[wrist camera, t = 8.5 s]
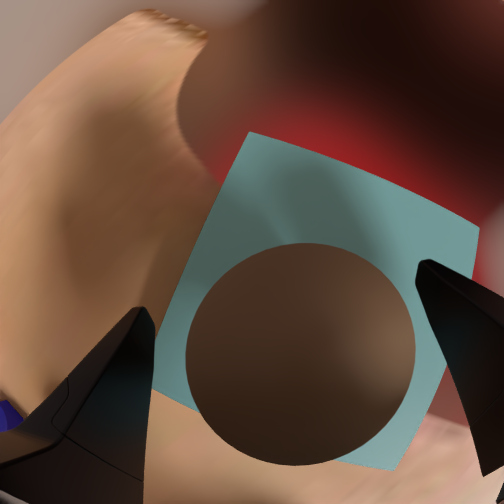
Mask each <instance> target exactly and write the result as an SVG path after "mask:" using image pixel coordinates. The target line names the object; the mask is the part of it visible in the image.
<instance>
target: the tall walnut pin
mask: <svg viewBox="0 0 504 504" xmlns="http://www.w3.org/2000/svg"><path fill="white" fill-rule="evenodd" d="M415 353H416V344H415V333H414V328H413V324H412V320H411V317H410V314H409V311H408V309H407V306H406V304H405V302H404V300H403V298H402V297H401V295H400V293H399V292H398V290H397V289H396V287H395V286H394V285H393V283H392V282H391V281H390V280H389V279H388V278H387V277H386V276H385V275H384V274H383V273H382V272H381V271H380V270H379V269H378V268H377V267H375V266H374V265H373V264H371V263H370V262H369V261H367V260H365V259H364V258H362V257H360V256H358V255H357V254H354V253H352V252H349V251H347V250H344V249H342V248H338V247H334V246H330V245H325V244H317V243H294V244H287V245H281V246H277V247H273V248H270V249H266V250H264V251H261V252H259V253H257V254H254V255H252V256H250V257H248V258H246V259H245V260H243V261H241V262H240V263H238V264H237V265H235V266H234V267H233V268H231V269H230V270H229V271H227V272H226V273H225V274H224V275H223V276H222V277H221V278H220V279H219V280H218V281H217V282H216V283H215V284H214V285H213V286H212V288H211V289H210V290H209V291H208V293H207V294H206V295H205V297H204V298H203V300H202V302H201V304H200V305H199V307H198V309H197V311H196V313H195V315H194V318H193V320H192V323H191V326H190V330H189V333H188V337H187V344H186V352H185V367H186V374H187V381H188V385H189V388H190V392H191V395H192V397H193V400H194V402H195V404H196V406H197V408H198V410H199V412H200V413H201V415H202V417H203V418H204V420H205V421H206V422H207V424H208V425H209V426H210V427H211V428H212V430H213V431H214V432H215V433H216V434H217V435H218V436H220V437H221V438H222V439H223V440H224V441H225V442H226V443H228V444H229V445H231V446H232V447H234V448H235V449H237V450H238V451H240V452H242V453H244V454H246V455H248V456H250V457H253V458H256V459H259V460H262V461H265V462H269V463H274V464H279V465H290V466H299V465H312V464H318V463H323V462H327V461H330V460H334V459H337V458H339V457H342V456H344V455H346V454H349V453H351V452H352V451H354V450H356V449H358V448H359V447H361V446H363V445H364V444H365V443H367V442H368V441H369V440H371V439H372V438H373V437H375V436H376V435H377V434H378V433H379V432H380V431H381V430H382V429H383V428H384V427H385V426H386V425H387V424H388V422H389V421H390V420H391V419H392V417H393V416H394V415H395V413H396V412H397V410H398V409H399V407H400V405H401V404H402V402H403V400H404V398H405V395H406V393H407V391H408V389H409V385H410V382H411V379H412V376H413V371H414V365H415Z"/></svg>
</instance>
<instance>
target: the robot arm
mask: <svg viewBox="0 0 504 504" xmlns="http://www.w3.org/2000/svg"><path fill="white" fill-rule="evenodd" d="M415 286H416V289H417V292H418V294H419V297H420V299H421V302H422V305H423V308H424V310H425V313H426V316H427V319H428V321H429V324H430V326H431V328H432V331H433V333H434V335H435V337H436V339H437V342H438V344H439V346H440V348H441V351H442V353H443V355H444V358H445V360H446V363H447V365H448V368H449V370H450V372H451V375H452V378H453V380H454V383H455V386H456V388H457V391H458V394H459V396H460V399H461V402H462V405H463V408H464V411H465V414H466V417H467V420H468V423H469V426H470V430H471V434H472V437H473V441H474V444H475V448H476V452H477V456H478V460H479V464H480V468H481V472H482V476H483V477H484V476H486V475H488V474H490V473H492V472H493V471H495V470H497V469H498V468H500V467H502V466H504V298H503V297H502V296H500V295H498V294H496V293H495V292H493V291H491V290H489V289H487V288H485V287H484V286H482V285H480V284H478V283H477V282H475V281H473V280H471V279H469V278H467V277H465V276H464V275H462V274H460V273H458V272H456V271H454V270H452V269H450V268H448V267H446V266H444V265H442V264H440V263H438V262H436V261H434V260H432V259H425V260H421V261H420V262H419V263H418V268H417V273H416V277H415ZM154 354H155V325H154V322H153V320H152V318H151V317H150V315H149V313H148V311H147V309H146V308H145V307H143V306H140V307H133V308H132V309H131V310H130V311H129V312H128V313H127V314H126V315H125V316H124V317H123V318H122V319H121V320H120V321H119V322H118V323H117V324H116V325H115V326H114V327H113V328H112V329H111V330H110V331H109V332H108V333H107V334H106V335H105V336H104V337H103V338H102V340H101V341H100V342H99V343H98V344H97V345H96V346H95V347H94V348H93V349H92V350H91V351H90V352H89V353H88V354H87V355H86V356H85V358H84V359H83V360H82V361H81V362H80V363H79V364H78V365H77V366H76V367H75V368H74V369H73V370H72V372H71V373H70V374H69V375H68V377H66V378H65V379H64V380H63V381H62V383H61V384H60V385H59V386H58V387H57V388H56V389H55V390H54V391H53V392H52V393H51V394H50V395H49V396H48V397H47V398H46V399H45V400H44V401H43V402H42V403H41V404H40V405H39V406H38V407H37V408H36V409H35V410H34V411H33V412H32V413H31V414H30V415H29V416H28V417H27V418H26V419H25V420H24V421H23V422H22V423H21V424H19V425H18V426H17V427H15V428H13V429H11V430H8V431H5V432H0V504H143V488H144V482H143V481H144V465H145V450H146V437H147V426H148V416H149V407H150V398H151V390H152V382H153V374H154ZM496 503H497V504H504V483H503V486H502V488H501V490H500V493H499V495H498V497H497V500H496Z"/></svg>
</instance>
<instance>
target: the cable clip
mask: <svg viewBox="0 0 504 504" xmlns="http://www.w3.org/2000/svg"><path fill="white" fill-rule="evenodd" d="M23 421H24V419H23V418H22V417H21V416H20V415H19V413H18V412H17V411H16V410H15V409H14V408H13V407H12V406H11V404H10V403H9V402H8V401H7V400H4V401H0V432H5V431H8V430H11V429H13V428H15V427H17V426H18V425H19V424H21V423H22V422H23Z"/></svg>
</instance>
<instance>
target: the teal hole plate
mask: <svg viewBox="0 0 504 504" xmlns="http://www.w3.org/2000/svg"><path fill="white" fill-rule="evenodd" d="M478 236H479V227H477V226H476V225H474V224H472V223H470V222H469V221H467V220H465V219H463V218H461V217H460V216H458V215H456V214H454V213H452V212H450V211H449V210H447V209H445V208H443V207H441V206H439V205H437V204H435V203H433V202H431V201H429V200H427V199H425V198H423V197H421V196H419V195H417V194H415V193H413V192H411V191H409V190H406V189H404V188H402V187H400V186H398V185H396V184H393V183H391V182H389V181H387V180H384V179H382V178H380V177H378V176H375V175H373V174H370V173H368V172H366V171H363V170H361V169H358V168H356V167H353V166H351V165H348V164H345V163H343V162H340V161H338V160H335V159H332V158H330V157H327V156H324V155H322V154H319V153H316V152H313V151H310V150H307V149H304V148H301V147H298V146H295V145H292V144H289V143H286V142H283V141H280V140H276V139H273V138H270V137H267V136H263V135H260V134H256V133H253V132H249V133H248V135H247V137H246V139H245V141H244V143H243V145H242V147H241V149H240V151H239V153H238V155H237V157H236V159H235V161H234V163H233V165H232V167H231V169H230V171H229V173H228V175H227V177H226V179H225V181H224V183H223V185H222V187H221V189H220V191H219V194H218V196H217V198H216V200H215V202H214V204H213V206H212V208H211V211H210V213H209V215H208V217H207V219H206V221H205V224H204V226H203V228H202V230H201V232H200V235H199V237H198V239H197V241H196V244H195V246H194V248H193V250H192V253H191V255H190V257H189V259H188V262H187V264H186V266H185V269H184V271H183V273H182V276H181V278H180V280H179V283H178V285H177V288H176V290H175V292H174V295H173V297H172V300H171V302H170V304H169V307H168V309H167V312H166V314H165V317H164V319H163V322H162V324H161V327H160V329H159V332H158V335H157V337H156V340H155V354H154V374H153V382H152V388H153V389H154V390H156V391H158V392H160V393H162V394H164V395H165V396H167V397H169V398H171V399H173V400H175V401H177V402H179V403H181V404H183V405H185V406H187V407H189V408H191V409H193V410H195V411H197V412H199V410H198V408H197V406H196V404H195V402H194V400H193V397H192V395H191V392H190V388H189V385H188V381H187V374H186V367H185V352H186V344H187V337H188V333H189V330H190V326H191V323H192V320H193V318H194V315H195V313H196V311H197V309H198V307H199V305H200V304H201V302H202V300H203V298H204V297H205V295H206V294H207V293H208V291H209V290H210V289H211V288H212V286H213V285H214V284H215V283H216V282H217V281H218V280H219V279H220V278H221V277H222V276H223V275H224V274H225V273H226V272H227V271H229V270H230V269H231V268H233V267H234V266H235V265H237V264H238V263H240V262H241V261H243V260H245V259H246V258H248V257H250V256H252V255H254V254H257V253H259V252H261V251H264V250H266V249H270V248H273V247H277V246H281V245H287V244H294V243H317V244H325V245H330V246H334V247H338V248H342V249H344V250H347V251H349V252H352V253H354V254H357V255H358V256H360V257H362V258H364V259H365V260H367V261H369V262H370V263H371V264H373V265H374V266H375V267H377V268H378V269H379V270H380V271H381V272H382V273H383V274H384V275H385V276H386V277H387V278H388V279H389V280H390V281H391V282H392V283H393V285H394V286H395V287H396V289H397V290H398V292H399V293H400V295H401V297H402V298H403V300H404V302H405V304H406V306H407V309H408V311H409V314H410V317H411V320H412V324H413V328H414V333H415V344H416V353H415V365H414V371H413V376H412V379H411V382H410V385H409V389H408V391H407V393H406V395H405V398H404V400H403V402H402V404H401V405H400V407H399V409H398V410H397V412H396V413H395V415H394V416H393V417H392V419H391V420H390V421H389V422H388V424H387V425H386V426H385V427H384V428H383V429H382V430H381V431H380V432H379V433H378V434H377V435H376V436H375V437H373V438H372V439H371V440H369V441H368V442H367V443H365V444H364V445H363V446H361V447H359V448H358V449H356V450H354V451H352V452H351V453H349V454H346V455H344V456H342V457H339V458H337V459H334V460H337V461H341V462H346V463H350V464H355V465H360V466H366V467H371V468H377V469H384V470H390V471H394V470H395V468H396V467H397V465H398V463H399V462H400V460H401V459H402V457H403V455H404V453H405V452H406V450H407V448H408V447H409V445H410V443H411V441H412V439H413V438H414V436H415V434H416V432H417V430H418V428H419V426H420V424H421V422H422V420H423V418H424V416H425V414H426V412H427V410H428V408H429V406H430V404H431V401H432V399H433V397H434V395H435V392H436V390H437V388H438V385H439V383H440V380H441V378H442V375H443V373H444V370H445V368H446V365H447V363H446V360H445V358H444V355H443V353H442V351H441V348H440V346H439V344H438V342H437V339H436V337H435V335H434V333H433V331H432V328H431V326H430V324H429V321H428V319H427V316H426V313H425V310H424V308H423V305H422V302H421V299H420V297H419V294H418V292H417V289H416V286H415V277H416V273H417V268H418V263H419V262H420V261H421V260H425V259H432V260H434V261H436V262H438V263H440V264H442V265H444V266H446V267H448V268H450V269H452V270H454V271H456V272H458V273H460V274H462V275H464V276H465V277H467V278H469V279H471V277H472V273H473V267H474V262H475V256H476V250H477V243H478ZM199 413H200V412H199Z"/></svg>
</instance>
